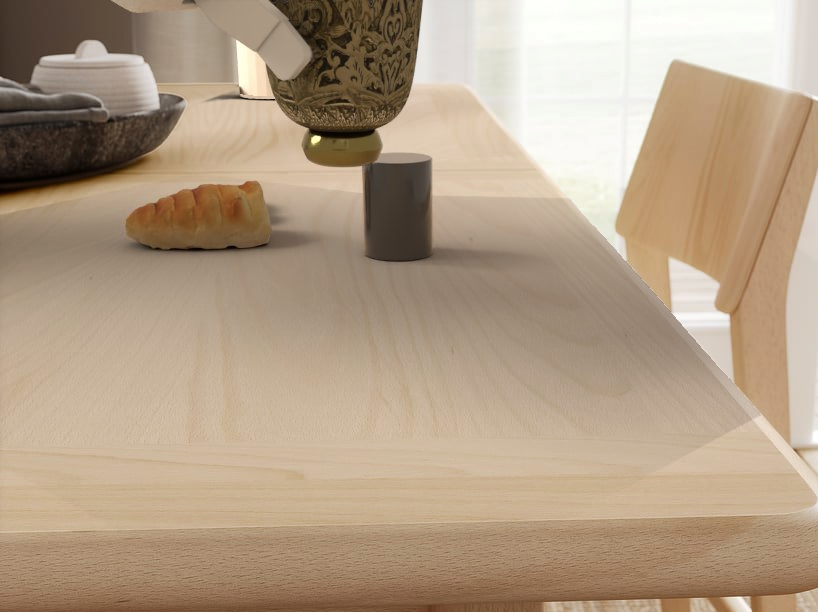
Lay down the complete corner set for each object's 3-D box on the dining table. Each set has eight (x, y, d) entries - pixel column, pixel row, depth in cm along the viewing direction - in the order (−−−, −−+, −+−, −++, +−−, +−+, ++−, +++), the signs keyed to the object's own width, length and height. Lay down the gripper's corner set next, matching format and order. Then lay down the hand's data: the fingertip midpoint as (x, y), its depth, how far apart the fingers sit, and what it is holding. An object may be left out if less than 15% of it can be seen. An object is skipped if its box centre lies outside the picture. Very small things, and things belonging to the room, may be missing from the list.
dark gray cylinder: (358, 260, 73) (355, 162, 71) (370, 244, 77) (368, 151, 75) (428, 261, 73) (427, 164, 71) (436, 246, 77) (436, 152, 75)
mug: (331, 98, 157) (329, 20, 153) (241, 100, 155) (236, 21, 151) (325, 92, 164) (322, 18, 160) (239, 94, 162) (234, 18, 158)
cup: (227, 161, 54) (217, -27, 50) (346, 146, 59) (343, -26, 56) (337, 183, 49) (333, -23, 46) (456, 164, 54) (459, -23, 51)
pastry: (131, 257, 74) (125, 196, 72) (123, 236, 80) (117, 179, 78) (278, 246, 77) (275, 187, 75) (260, 226, 83) (257, 171, 81)
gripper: (247, -113, 62) (412, 89, 62) (-53, -141, 45) (176, 139, 45) (317, -213, 59) (492, 2, 59) (22, -284, 41) (269, 19, 42)
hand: (353, 62), depth 52 cm, fingers closed on cup, 7 cm apart
